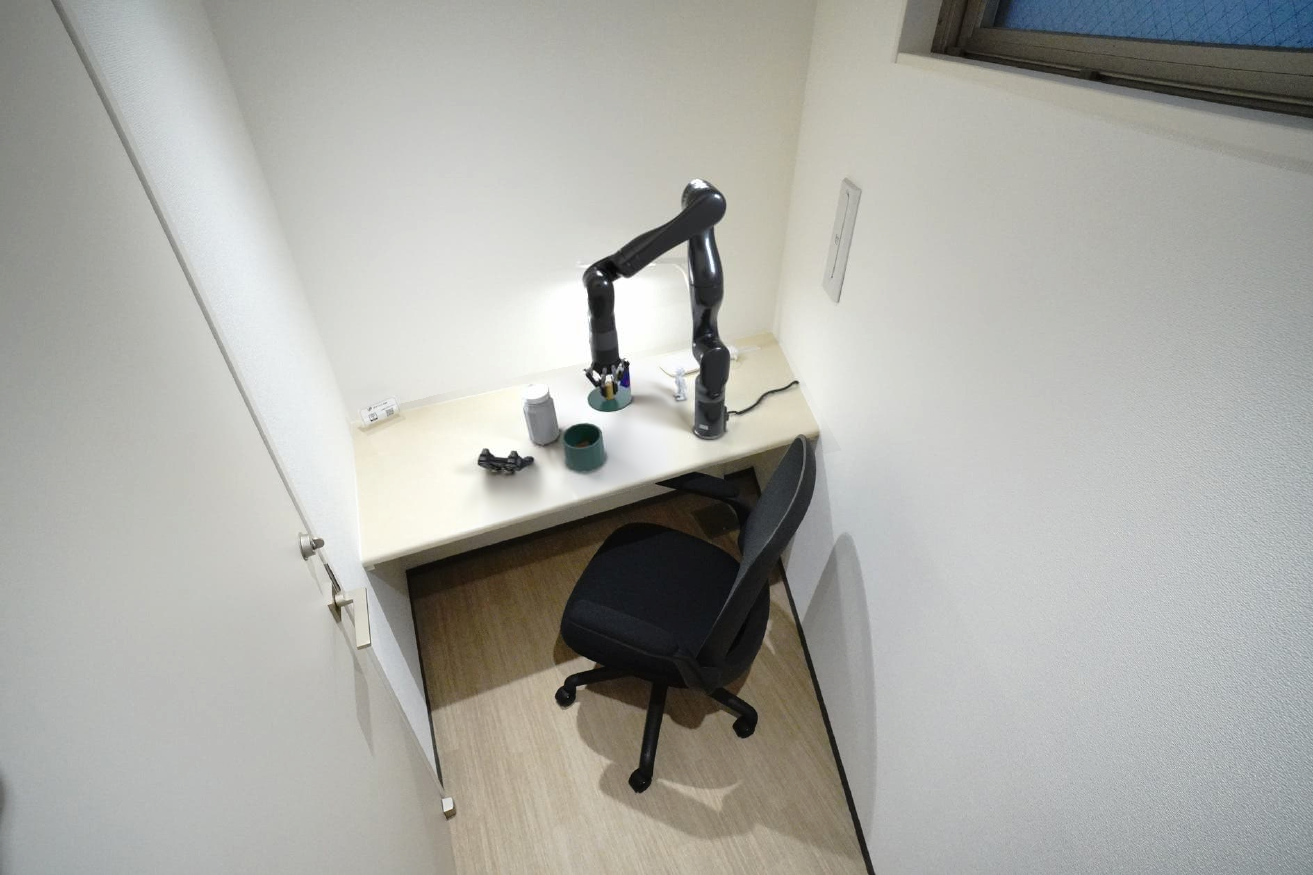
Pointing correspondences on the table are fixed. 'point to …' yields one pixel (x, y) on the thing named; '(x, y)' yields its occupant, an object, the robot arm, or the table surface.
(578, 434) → the tin
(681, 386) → the toy figure
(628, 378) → the beverage can
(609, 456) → the table surface
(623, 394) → the lid
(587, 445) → the block
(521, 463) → the game controller
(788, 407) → the table surface
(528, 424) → the jar
